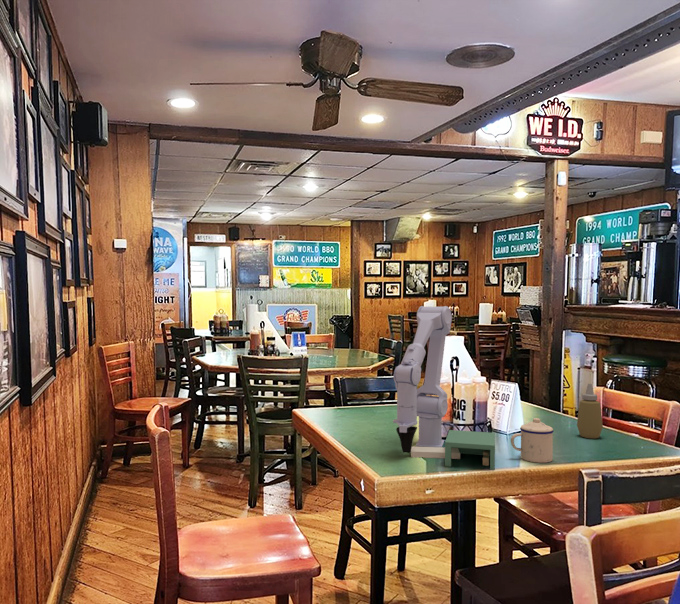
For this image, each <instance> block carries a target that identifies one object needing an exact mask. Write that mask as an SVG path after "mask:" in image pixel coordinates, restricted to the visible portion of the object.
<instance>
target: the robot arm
mask: <svg viewBox="0 0 680 604" xmlns="http://www.w3.org/2000/svg"><path fill="white" fill-rule="evenodd" d="M452 320H453V315H452V311H451V309H450V308H449V306H447V305H444V306H424V305H421V306H419V307H418V309H417V312H416V322H417V328H416V332H415V334H414V339H413V341H412V343H411V344H408V345H407V348H406V351H405V353H404V355H403V358H402V360H401V362H400V364H398V365H397V366H395V369H394V371H393V377H392V378H393V381H394V384H395V390H396V392H397V393H396V394H397V395H396V397H397V399H396V400H397V401H396V412H397V413H396V419H393V420H392V423H393V424H397V426H398V427H396V429H395V430H396V433H397V435H398V437H399V441H400V444H401V451H402V453H407V454H411V448H412V446H413V442H414V437H415V434H416V432H417V429H418V440H417V441H416V443H415V447H443V446H444V444H445V440H444V439H442V438H443V436H442V433H443V432H442V429H443V428H442V426H443V425H442V421H443V420H442V418H444V417H445V415H447V412H448V406H449V405H448V404H449V403H448V394H447V392H446V391H445V390H444V389H443V388H442V387H441V379H442V378H441V377H442V369H443V361H444V352H445V344H446V336H447V335H449V334H450V333H451V328H452ZM428 341H429V342H428ZM427 342H428V350H427V352H426V349H425V347H426V345H427ZM426 353H427V358H426V359H427V360H426V365H425V366H426V367H425V372H424V374H425V375H424V380H423V381H424V383H423V384H422V385H421V386H420V387H419V388H418V385H419V383H420V381H421V377H422V376H421V373H422V364H423V361H424V359H425V356H426ZM417 419H418V420H417ZM417 425H418V427H417Z"/></svg>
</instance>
